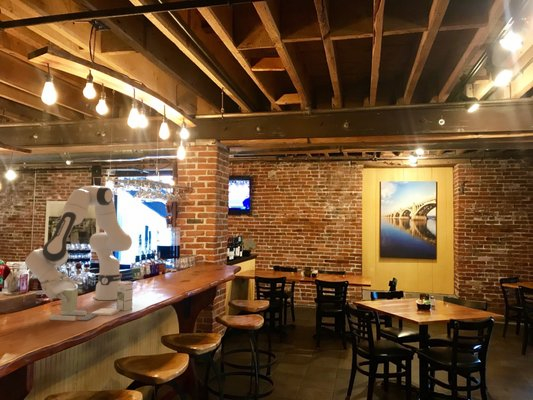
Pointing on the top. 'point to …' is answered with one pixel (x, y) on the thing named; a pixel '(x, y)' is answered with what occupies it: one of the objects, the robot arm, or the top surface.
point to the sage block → (70, 300)
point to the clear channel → (73, 318)
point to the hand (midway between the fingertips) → (70, 300)
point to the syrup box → (124, 295)
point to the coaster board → (105, 311)
